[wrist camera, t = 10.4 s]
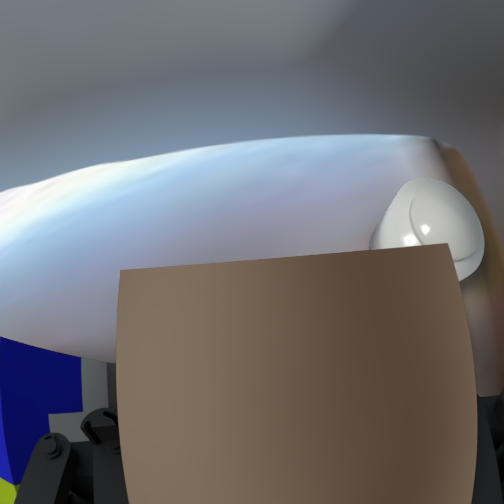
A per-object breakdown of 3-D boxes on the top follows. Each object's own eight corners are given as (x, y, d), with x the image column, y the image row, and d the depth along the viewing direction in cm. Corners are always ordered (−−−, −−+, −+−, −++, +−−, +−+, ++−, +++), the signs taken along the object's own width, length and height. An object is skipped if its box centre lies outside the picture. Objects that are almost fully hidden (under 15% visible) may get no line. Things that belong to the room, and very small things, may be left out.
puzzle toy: (107, 362, 17) (0, 336, 8) (120, 493, 13) (33, 542, 4) (15, 352, 17) (-75, 322, 8) (24, 462, 13) (-63, 470, 4)
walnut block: (227, 449, 13) (147, 573, 2) (220, 346, 16) (120, 269, 5) (337, 438, 13) (466, 527, 2) (328, 336, 16) (447, 243, 5)
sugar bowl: (379, 309, 18) (419, 281, 13) (359, 217, 21) (383, 168, 16) (457, 295, 18) (503, 267, 13) (433, 214, 21) (466, 172, 16)
